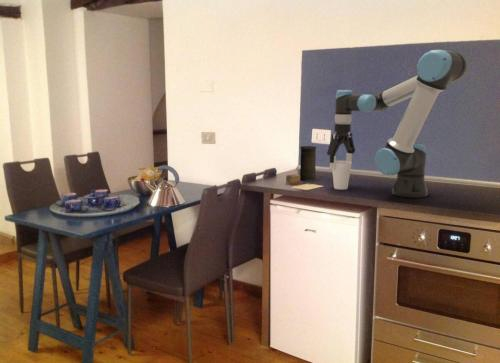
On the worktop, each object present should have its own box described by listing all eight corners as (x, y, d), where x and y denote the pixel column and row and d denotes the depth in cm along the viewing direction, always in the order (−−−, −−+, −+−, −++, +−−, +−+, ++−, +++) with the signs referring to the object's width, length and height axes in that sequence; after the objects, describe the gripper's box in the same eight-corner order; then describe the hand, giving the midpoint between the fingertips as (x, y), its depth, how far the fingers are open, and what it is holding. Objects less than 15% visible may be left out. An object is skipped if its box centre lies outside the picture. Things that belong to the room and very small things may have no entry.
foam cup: (350, 191, 218) (351, 163, 215) (330, 190, 220) (331, 163, 217) (350, 187, 227) (351, 161, 225) (331, 186, 229) (332, 160, 226)
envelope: (324, 186, 229) (324, 185, 229) (306, 190, 219) (306, 189, 219) (307, 184, 236) (307, 183, 236) (290, 187, 226) (290, 187, 226)
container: (318, 179, 248) (319, 146, 245) (311, 182, 241) (312, 147, 237) (303, 178, 253) (304, 145, 250) (296, 180, 245) (296, 146, 242)
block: (300, 185, 233) (300, 175, 232) (292, 186, 230) (292, 176, 229) (293, 183, 237) (293, 174, 236) (286, 184, 234) (286, 175, 233)
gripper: (350, 122, 229) (348, 164, 233) (320, 124, 212) (318, 169, 216) (363, 122, 224) (361, 166, 228) (334, 125, 206) (332, 171, 210)
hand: (340, 168), depth 222 cm, fingers open, 13 cm apart
